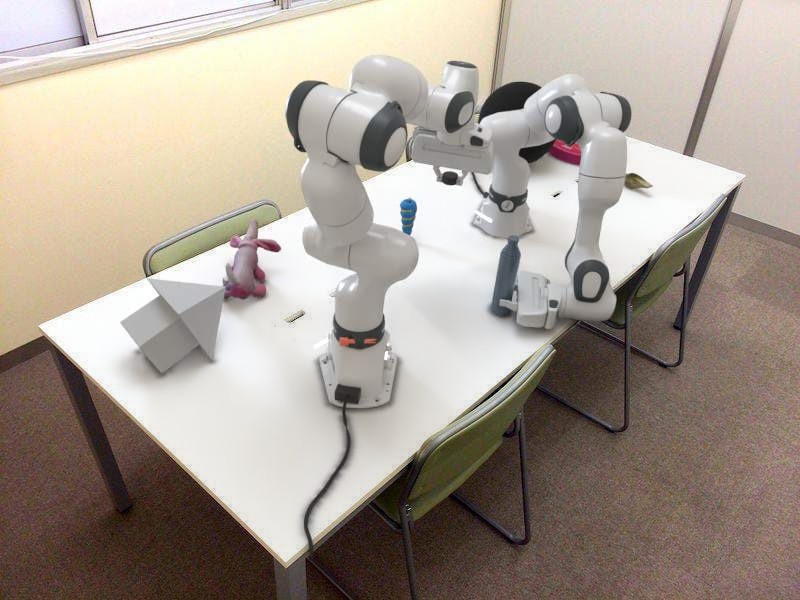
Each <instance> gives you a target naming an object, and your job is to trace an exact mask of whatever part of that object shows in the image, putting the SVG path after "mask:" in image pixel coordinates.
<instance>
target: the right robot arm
mask: <svg viewBox="0 0 800 600" xmlns="http://www.w3.org/2000/svg"><path fill="white" fill-rule="evenodd" d="M541 87H542V88H541V89H540V90H538V91H537V92H536V93H534V94H533V95H532V96H531V97H529V98H528V99H527V101H526V102H525V105H524V109H520V110H514V111H506V112H498V113H495V114H492V115H490V116H487V117H485V118H483V119H482V120H481V122H480V125H482V126H484V127H486V128H488V129H490V130H492V132H493V134H492V139H491V142H492V143H493V146H494V165H493V169H492V178H491V183H490V185H489V188H488V191H485V192H484V191H483V189H482V188H481V186H480V184H479V183H478V180H477V178H476V173H474V172H470V173H471V175H472V178H473V181H474V184H475V186H476V187H477V189H478V191H479V192H480V194H482V195H483V196H482V197H481V202H480V203H481V207H480V208H479V210H475V211H474V213H475V214H476V217H475V218H474V220H473V225H474V226H476V227H478V228H480V229H481V230H483V232H485V233H486V234H488V235H491V236H493V237H496V238H501V239H508V237H509V236H511V235H515V236H517V237H520V236H521V235H523V234H526V233H529V232H531V231H532V230H533V227H532V224H531V222H530V219H529V215H530V206H529V204H528V202H527V199H528V195H529V189H528V186H529V181H530V175H531V166H530V163H529V164H528V162H527V161H526V160H525V159H523V158H522V157H520V156H519V150H520V149H521V148H526V147H532V146H539V145H542V144H545V143H547V142H550V141H552V140H554V139H557V140H559V141H562V142H564V143H565V144H566V145H567V146H572V145H574V144H575V143H577V144H578V145H579V147H580V149H581V161H580V165H579V169H578V178H577V197H578V198H577V199H578V215H577V223H576V228H575V236H574V239H573V241H572V244H571V246H570V247H569V249H568V251H567V252H566V255H565V256H564V267H565V269H566V271H567V273H568V275H569V278H570V283H569V284H566V285H564V284H557V283H551V280H550V279H549V278H548V277H546V276H544V275H542V274H540V273H537V272H532V271H528V270H520V271H518V273H517V278H516V283H515V288H514V292H516V294H515V295H516V297H515V298H516V300H514V301H512V302H511V301H509V300H507V298H502V297H501V298H500V301H499V305H500V306H505V307H507V308H509V309H510V311H515V312H516V323H517V324H518V325H520V326H523V327H528V328H545V329H547V330H552V329H554V326H555V324H556V322H557V320H558V319H573V320H576V321H580V322H595V323H599V322H605V321H606V322H607V321H608V320H609V319H610V318H612V316H613V315H614V313H615V310H616V307H617V301H618V298H617V295H616V293H615V292H614V290H613V287H612V284H611V279H610V278H611V277H610V270H609V266H608V265H607V263H606V261H605V260H604V258H603V254H602V252H601V249H600V248H601V247H600V236H601V232H602V226H603V220H604V216H605V214H606V212H607V211H608V210H609V209H612V207H614V206H615V205H617V204H618V203H619V202H620V199H621V197H622V194H623V189H624V187H625V175H626V173H627V167H628V165H627V164H628V142H627V136H626V135H625V132H626V131H627V130H628V128H629V126H630V124H631V121H632V107H631V103H630V102H629V100H628V99H627V98H626V97H624V96H622V95H619V94H615V93H613V92H606V91H600V92H596V93H593V92H591V91H590V89H589V85H588V83H587V81H586V80H585V79H584V78H583V77H582V76H581V75H579V74H576V73H567V74H563V75H561V76H559V77H557V78H555V79H553V80H550V81H549V82H547V83H546V84H545V85H544V86H541Z"/></svg>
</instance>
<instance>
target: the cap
mask: <svg viewBox="0 0 800 600" xmlns="http://www.w3.org/2000/svg"><path fill="white" fill-rule="evenodd" d="M442 173H443V179H442V182H441V183H442V184H444V185H445V186H457V185H456V180H457V178H458V176H459V174H458V173H457V172H455V171H452V170H450V171H444V172H442Z"/></svg>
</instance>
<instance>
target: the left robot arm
mask: <svg viewBox="0 0 800 600" xmlns="http://www.w3.org/2000/svg"><path fill="white" fill-rule="evenodd" d="M440 82H441V83H440V84H437V83H433V82H428V80H427V78H426V77H425V75H424V74H423V73H422V72H421V70H420V69H418V68H417V67H416V66H414V65H413V64H411V63H410V62H408V61H405V60H404V59H401V58H398V57H395V56H391V55H385V54H369V55H367V56H364V57H362V58H361V59H360V60H359V61H357V62H356V63H355V64H354V66H353V68H352V69H351V71H350V74H349V78H348V86H349V87H348V88H349V90H348V89H345V88H342V87H338V86H334V85H330V84H329V83H328V82H325V81H321V80H316V79H315V80H313V79H312V80H310V79H309V80H303V81H301V82H299V83H298V84H297V85H296V86H295V87H294V88H293V90H292V91H291V93H290V94H289V95H288V98H287V101H286V104H285V109H284V116H285V120H286V125H287V130H288V132H289V134H290V135H291V137H292V138H293V146H294V147H295V149H296V150H297V151H298V152H300V153H306V155H307V159H306V162H305V163H304V165H303V167H302V169H301V172H300V178H299V179H300V181H299V182H300V187H301V192H302V194H303V198H304V201H305V204H306V206H307V209H308V211H309V212H310V214H311V216H312V217H310V218H309V219H308V221H306V224H305V225H304V227H303V230H302V234H301V238H302V241H301V242H302V246H303V249H304V251H305V253H306V254H307V255H308V256H310V257H312V258H313V259H316V260H317V261H320V262H322V263H323V264H326V265H329V266H333V267H337V268H341V269H344V270H347V271H352V272H353V273H354V274H351V275H348V276H347V277H345V278H343V279H342V280H341V281H340V282H338V284H337V285H336V288H335V290H334V313H333V317H332V329H331V330H330V331H329V332H328V333H327V334H326V335H327V338H326V339H323V340H322V341H320V342H318V343H316V344H314V345H313V348H314V349H317V348H319V347H320V346H323V345H324V344H326V343H327V345H326V346H327V350H326V351H327V353H325V354H323V355H321V356H320V357H319V366H320V370H321V374H322V378H323V382H324V387H325V390H326V391H325V392H326V394H327V400H328V402H329V404H332V405H334V406H337V407H340V408H342V411H341V413H342V421H343V424H344V427H345V434H346V449H345V452H344V455H343V457H342V459H341V460H340V463H339V464H338V466H337V467H336V469H335V470H334V471H333V473H332V474H331V476H330V477H329V479H328V480H327V482H326V483H325V485H324V486H323V488H322V489H321V490H320V491H319V492H318V493H317V495H316V496H315V497H314V498H313V499H312V501H311V502H310V504H309V505H308V507H307V509H306V512H305V514H304V519H303V527H304V532H305V535H306V538H307V541H308V548H309V557H310V558H313V557H314V553H315V552H314V543H313V539H312V536H311V535H312V534H311V533H310V528H309V517H310V514H311V512H312V509H313V508H314V506H315V504H316V503H317V502H318V501H319V499H320V498H321V497H322V496H323V495H324V493H326V491H327V490H328V489H329V487H330V486H331V484H332V483H333V481H334V480H335V478H336V476H337V475H338V474H339V472H340V471H341V469H342V467H343V466H344V464H345V462H346V461H347V460H348V457H349V453H350V448H351V434H350V431H349V429H348V421H347V414H346V413H347V412H346V411H347V409H371V408H376V407H377V408H378V407H381V406H383V405H387V404H388V403H389V402H390V401H391V396H392V391H393V386H394V382H395V381H394V380H395V376H396V370H397V364H398V357H397V356H396V355H395V354H393V353H391V352H392V345H390V344H391V343H390V341H391V339H390V338H391V334H390V332H389V331H387V330H386V318H385V313H384V307H385V299H386V294H387V291H388V290H389V289H390V287H391V286H393V285H394V284H396V283H398V282H400V281H404V280H405V279H407V278H408V277H410V276H411V275H412V273H413V272H414V271H415V269H416V267H417V265H418V262H419V257H420V251H419V246H418V243H417V241H416V239H415V237H413V236H411V235H408V234H406V233H404V232H403V230H400V229H397V228H395V227H392V226H387V225H383V224H379V223H377V222H376V223H375V222H374V218H375V217H374V215H375V214H374V207H373V206H372V203H371V200H370V197H369V195H368V192H367V190H366V187H365V185H364V183H363V181H362V179H361V177H360V175H359V174H358V172H357V166H361V167H362V168H363V169H364V170H367V171H368V170H369V171H373V172H376V173H377V172H378V173H385V172H388V171H389V170H390V169H392V168H393V167H395V166H396V165H397V164H398V162H399V161H400V160H401V158H402V156H403V154H404V152H405V149H406V146H407V142H408V135H409V134H408V133H409V132H408V126H407V124H409V125H413V126H414V128H413V129H412V135H411V138H412V140H413V143H412V148H411V154H410V158H411V160H412V162H414V163H417V164H423V165H427V166H432V170H433V172H434V175H435V176H436V181H435V182H437V183H443V182H442V179H443V173H444V172H441V169H440V168H446V169H452V170H456V171H461V176H459V175H458V178H457V180H456V185H455V186H459V187H462V186H463V185H464V179H466V177H467V176H468V174H469V173H471V172H474V174H481V175H487V176H488V175H490V174H491V173H492V172H493V168H494V146H493V143H492V142H491V139H492V134H493V132H492V130H490V129H488V128H486V127H484V126H482V125H480V124H478V122H476V113H475V111H476V107H477V105H478V101H479V90H480V72H479V68H478V66H476V65H475V64H473V63H471V62H468V61H467V62H466V61H461V60H449V61H447V62H445V65H444V68H443V72H442V76H441V81H440Z"/></svg>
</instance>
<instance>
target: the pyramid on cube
mask: <svg viewBox="0 0 800 600" xmlns="http://www.w3.org/2000/svg"><path fill="white" fill-rule="evenodd" d="M146 280H147V281H148V283H149V284H150V285H151V286H152V288H153V289H154V290H155V292H156V293H157V295H158V296H156V297H154V298H153V299H151V301H149V302H148V303H146V304H145V305H143V306H142V307H140V308H138V309H137V310H136V311H134V312H132V313H131V314H130V315H128V316H126V317H125V318H124V319H122V320H121V321H120V322H119V324H120V325H121V326H122V328H124V330H125V331H126V332H127V334H128V335H129V337H130V338H131V339H132V341H133V342H134V343H135V344H136V346H137V347H138V348H139V349H140V350H141V352H142V353H143V354H144V355H145V356H146V358H148V360H149V361H150V362H151V363H152V365H153V366H155V368H156V369H157V370H158V371H159V372H160V374H164V373H165V372H166V371H167V370H169V369H170V368H171V367H173V366H174V365H175V364H176V363H178V362H179V361H181V360H182V359H183V358H184V357H185V356H187V355H188V354H189V353H191V352H192V351H193V350H195V349H196V348H197V347H198V346H199V347H200V348H201V350H203V351H204V353H205V354H206V355H207V356H208V358H209V359H210V360H211V361H213V360H214V354H215V348H216V344H217V338H218V332H219V328H220V327H219V326H220V323H221V322H220V321H221V316H222V310H223V304H224V299H225V298H224V294H225V288H226V287H223V286H222V285H215V284H213V285H212V284H203V283H194V282H186V281H185V282H184V281H177V280H176V281H175V280H167V279H157V278H148V277H146Z"/></svg>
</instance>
